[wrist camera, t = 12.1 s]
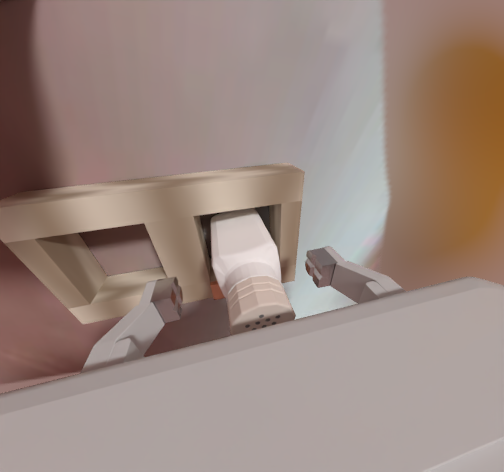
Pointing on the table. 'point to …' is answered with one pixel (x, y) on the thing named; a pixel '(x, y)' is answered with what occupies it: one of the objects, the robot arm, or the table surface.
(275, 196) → the slot rack
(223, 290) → the pepper shaker
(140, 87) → the table surface
